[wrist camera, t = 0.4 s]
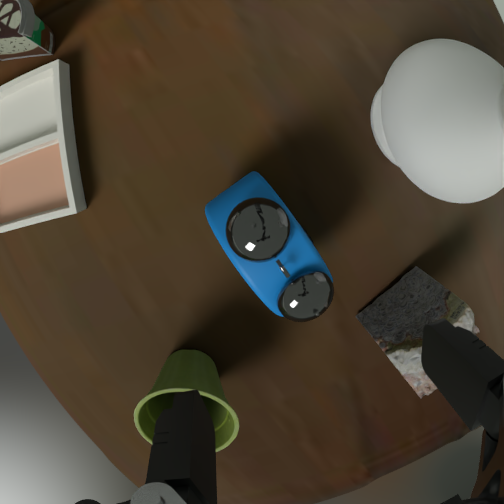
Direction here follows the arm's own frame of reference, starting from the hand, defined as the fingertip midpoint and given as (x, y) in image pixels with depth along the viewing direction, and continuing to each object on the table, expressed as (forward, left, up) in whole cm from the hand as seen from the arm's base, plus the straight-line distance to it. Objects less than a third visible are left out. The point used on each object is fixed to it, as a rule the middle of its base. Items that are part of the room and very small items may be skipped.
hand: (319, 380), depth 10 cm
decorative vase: (-10, +22, -28) cm, 37 cm away
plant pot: (+19, -11, -28) cm, 36 cm away
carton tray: (-14, -27, -28) cm, 41 cm away
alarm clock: (+1, +1, -28) cm, 28 cm away
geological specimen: (+14, +18, -28) cm, 37 cm away
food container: (-30, -25, -28) cm, 48 cm away
